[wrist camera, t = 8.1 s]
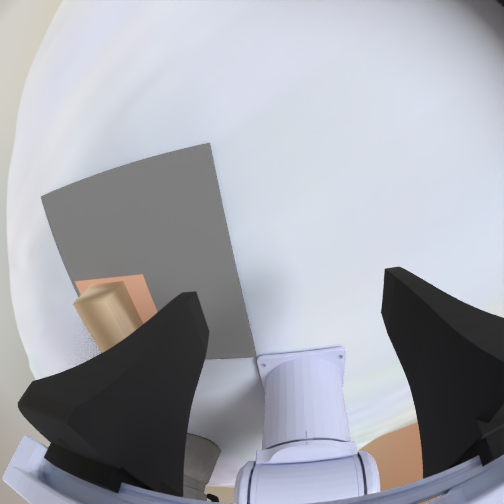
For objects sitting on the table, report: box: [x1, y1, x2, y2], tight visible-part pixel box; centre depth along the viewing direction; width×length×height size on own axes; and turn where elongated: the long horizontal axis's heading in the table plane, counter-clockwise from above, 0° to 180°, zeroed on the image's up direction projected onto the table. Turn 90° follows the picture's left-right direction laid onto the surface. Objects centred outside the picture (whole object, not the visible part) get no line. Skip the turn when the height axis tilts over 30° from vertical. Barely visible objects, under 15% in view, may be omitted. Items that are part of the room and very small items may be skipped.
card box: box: [73, 281, 143, 353], centre depth 22 cm, size 4×7×3 cm, turn 12°
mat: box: [41, 143, 256, 359], centre depth 21 cm, size 18×16×1 cm
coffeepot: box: [183, 433, 221, 502], centre depth 27 cm, size 15×9×18 cm, turn 42°
